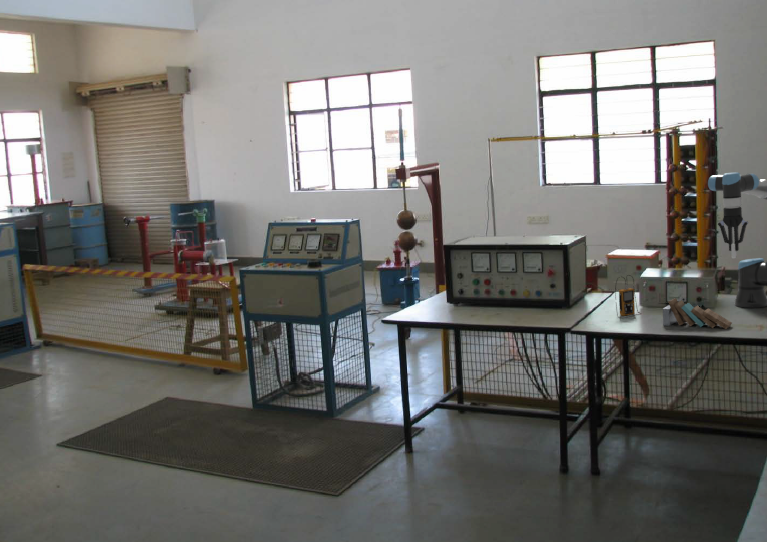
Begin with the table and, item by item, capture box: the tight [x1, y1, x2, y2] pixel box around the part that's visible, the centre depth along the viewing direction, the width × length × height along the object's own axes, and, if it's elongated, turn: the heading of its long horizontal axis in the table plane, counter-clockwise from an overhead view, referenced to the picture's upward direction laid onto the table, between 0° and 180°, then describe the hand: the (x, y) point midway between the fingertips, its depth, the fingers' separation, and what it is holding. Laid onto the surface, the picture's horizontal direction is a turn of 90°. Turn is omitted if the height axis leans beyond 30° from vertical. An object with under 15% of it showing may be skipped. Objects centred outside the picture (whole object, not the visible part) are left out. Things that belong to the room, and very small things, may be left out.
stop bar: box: [662, 304, 678, 327], centre depth 370 cm, size 3×10×8 cm, turn 141°
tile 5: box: [668, 298, 687, 326], centre depth 367 cm, size 2×6×12 cm, turn 139°
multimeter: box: [614, 274, 641, 319], centre depth 389 cm, size 15×10×20 cm
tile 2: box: [691, 305, 719, 329], centre depth 359 cm, size 2×6×12 cm
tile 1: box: [702, 308, 733, 330], centre depth 356 cm, size 2×6×12 cm
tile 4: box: [674, 300, 697, 327], centre depth 365 cm, size 2×6×12 cm
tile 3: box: [682, 303, 707, 328], centre depth 362 cm, size 2×6×12 cm
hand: (734, 257), depth 363 cm, fingers closed
